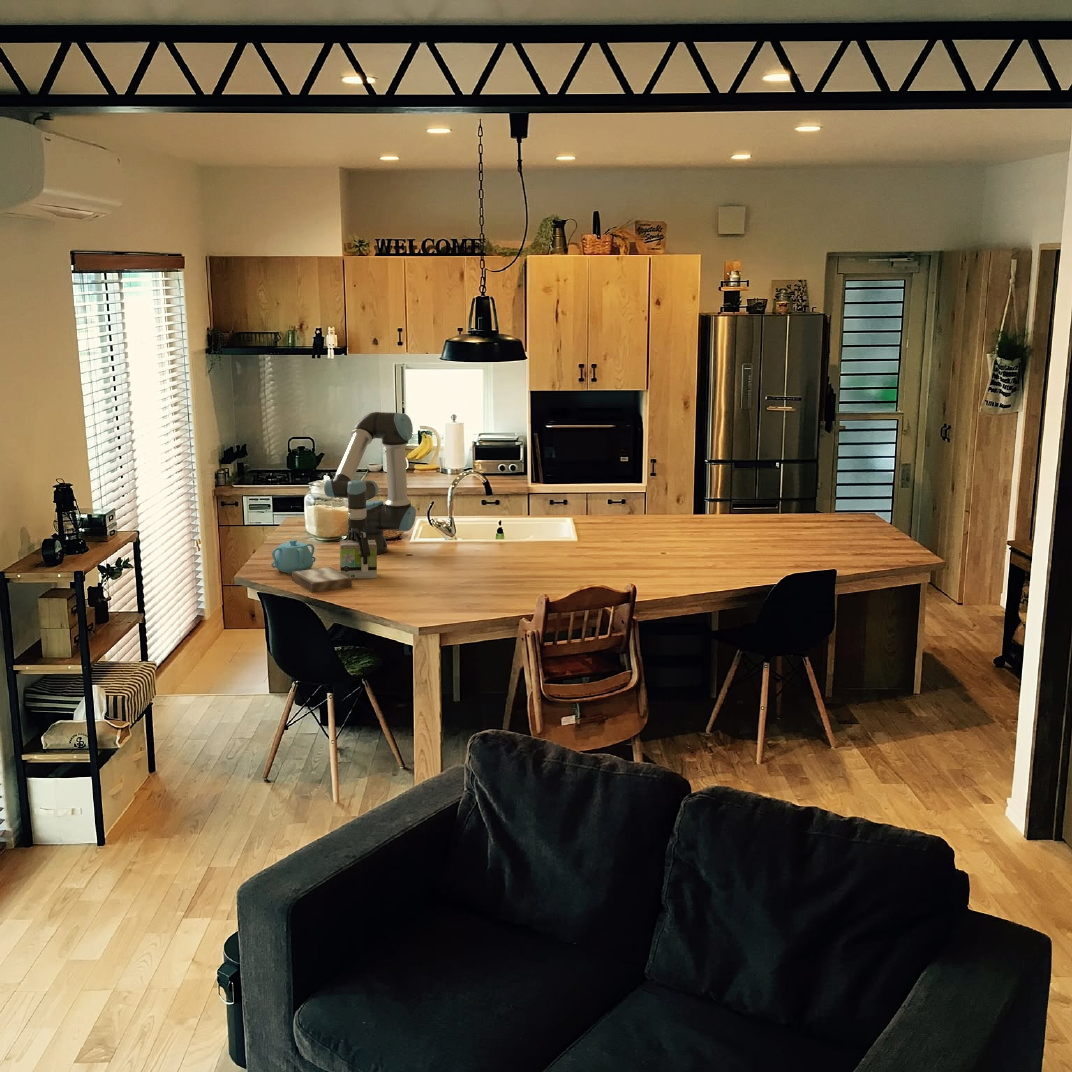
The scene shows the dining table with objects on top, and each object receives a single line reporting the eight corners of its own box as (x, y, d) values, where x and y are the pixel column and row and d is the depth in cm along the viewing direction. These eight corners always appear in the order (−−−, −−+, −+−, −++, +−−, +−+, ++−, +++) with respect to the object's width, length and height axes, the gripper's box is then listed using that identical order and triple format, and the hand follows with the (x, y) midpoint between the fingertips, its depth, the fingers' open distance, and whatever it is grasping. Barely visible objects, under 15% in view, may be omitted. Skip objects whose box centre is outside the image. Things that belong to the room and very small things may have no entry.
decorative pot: (302, 577, 476) (301, 545, 473) (267, 574, 481) (266, 542, 478) (319, 568, 492) (319, 537, 489) (286, 565, 496) (285, 534, 493)
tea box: (340, 580, 472) (340, 545, 469) (340, 573, 482) (339, 539, 479) (377, 578, 475) (376, 544, 472) (375, 572, 485) (375, 538, 482)
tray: (330, 575, 479) (330, 566, 479) (351, 587, 461) (351, 578, 460) (292, 580, 470) (291, 571, 470) (312, 593, 452) (311, 583, 451)
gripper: (337, 513, 481) (338, 563, 486) (361, 524, 461) (362, 575, 466) (353, 511, 485) (354, 561, 490) (377, 522, 465) (378, 573, 470)
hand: (358, 568), depth 478 cm, fingers closed on tea box, 12 cm apart
